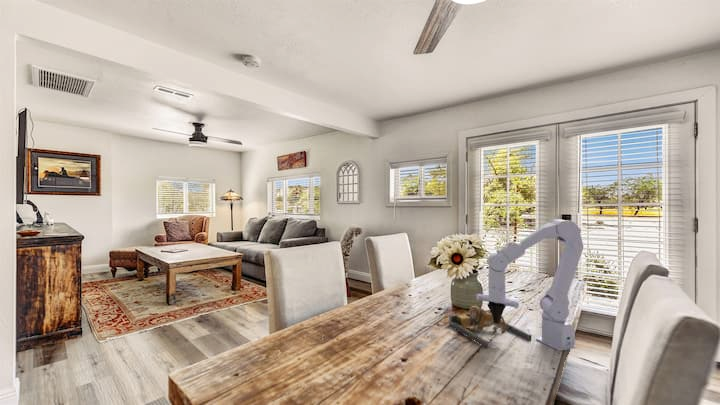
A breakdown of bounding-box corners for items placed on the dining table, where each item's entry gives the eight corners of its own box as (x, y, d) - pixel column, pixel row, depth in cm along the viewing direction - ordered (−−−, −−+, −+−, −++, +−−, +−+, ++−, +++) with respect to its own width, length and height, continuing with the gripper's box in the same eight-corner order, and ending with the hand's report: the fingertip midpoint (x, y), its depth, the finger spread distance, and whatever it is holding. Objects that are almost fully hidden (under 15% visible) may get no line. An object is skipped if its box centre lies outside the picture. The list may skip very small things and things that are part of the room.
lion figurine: (470, 331, 118) (470, 307, 118) (467, 325, 123) (468, 303, 123) (510, 333, 116) (510, 310, 116) (506, 327, 121) (506, 305, 121)
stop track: (531, 340, 110) (531, 329, 110) (485, 348, 104) (485, 336, 104) (489, 319, 130) (489, 309, 130) (448, 325, 123) (448, 315, 123)
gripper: (521, 287, 110) (521, 325, 110) (481, 280, 120) (481, 315, 120) (515, 291, 105) (515, 331, 105) (474, 284, 115) (474, 320, 115)
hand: (496, 323), depth 112 cm, fingers closed
